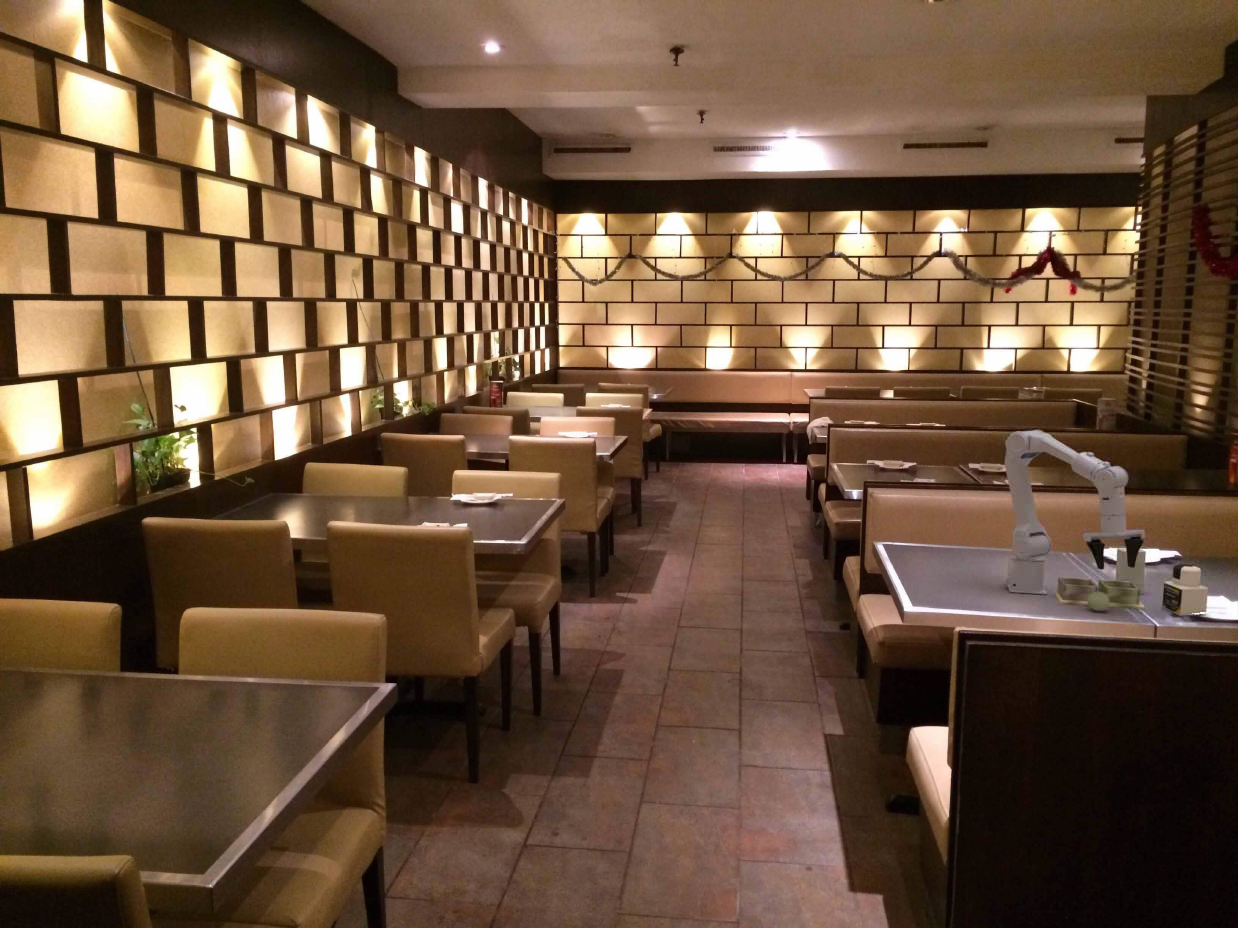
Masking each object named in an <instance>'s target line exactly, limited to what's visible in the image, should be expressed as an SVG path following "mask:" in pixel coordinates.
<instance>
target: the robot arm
mask: <svg viewBox="0 0 1238 928" xmlns="http://www.w3.org/2000/svg"><path fill="white" fill-rule="evenodd" d="M1004 443H1005V448H1006V449H1005V450H1006V452H1005V457H1004V467H1005V471H1006V476H1007V481H1008V486H1009V493H1010V497H1011V501H1012V506H1013V511H1014V517H1015V521H1016V526H1015V528H1014V530H1013V531H1012V533H1011V535H1012V543H1011V551H1012V552H1013V555H1014V556H1015V557H1008V561H1007V569H1006V570H1007V572H1006V587H1007V589H1008V591H1009V593H1020V594H1037V595H1047V594H1048V592H1047V590H1046V589H1045V587H1044V586H1045V570H1046V559H1047V555H1048V554H1049V553H1050V552H1051V550H1052V548H1053V546H1052V545H1053V543H1052V540H1051V537H1049V535H1048V533H1047V530H1046V528H1045V526H1044V525H1042V524H1041V523H1040V522H1039V517H1038V512H1037V509H1036V504H1035V499H1034V494H1033V490H1032V485H1031V479H1030V475H1029V469H1028V465H1029V464H1030V463H1031V461H1032V460H1033V459H1034V458H1036V457H1037V456H1039V455H1040V454H1041V453H1043V452H1044V453H1046V454H1049V455H1051V456H1053V457H1055V458H1057V459H1059V460H1061V461H1064V462H1066V463H1067V464H1069V465H1070V466H1071V469H1072V471H1073V472H1074V473H1076V474H1078V475H1080V476H1082V477H1083V478H1085V479H1087V480H1088V481H1091V482H1093V485H1094V487H1095V488H1096V489H1097V492H1098V496H1099V497H1098V498H1099V512H1100V514H1099V515H1100V531H1094V532H1085V533H1083V541H1084V542H1085V543H1086V545H1087V547H1088V548H1089V551H1090V552H1091V554H1092V556H1093V558H1094V560H1095V564H1096V567H1097V569H1098V570H1101V571H1102V570H1105V559H1104V558H1105V557H1104V555H1105V554H1104V552H1105V546H1106V545H1105V543H1103V542H1102V541H1112V540H1114V541H1115V540H1123V541H1124V545H1125V548H1126V551H1127V564H1128V567H1132V568H1134V567H1135V562H1136V558H1137V555H1138V552H1139V550H1140V549H1141V548H1142V546H1143V544H1144V539H1145V538H1146V530H1144V529H1127V518H1126V517H1127V515H1126V513H1127V512H1126V511H1127V510H1126V501H1125V500H1126V497H1125V487H1126V486H1127V484H1128V482H1129V473H1128V472H1127V471H1126V469H1124V468H1123V467H1122V466H1120V465H1113V466H1111V465H1110V464H1111V463H1110V462H1108V461H1103V460H1101V459H1099V458H1097V457H1095V453H1093V452H1092V451H1091V452H1090V451H1089V452H1087V451H1083V452H1079V453H1078V452H1077V451H1075V450H1074V449H1072V448H1071V447H1069V446H1067V445H1065V444H1064V443H1062V442H1060V441H1059V440H1057V439H1056V438H1054V437H1053V436H1052V435H1051V434H1050V433H1046V432H1044V431H1043V430H1040V429H1034V430H1025V431H1018V430H1017V431H1014V432H1012V433H1011V434H1010V435H1009V436H1008V437H1007V439H1006V440H1005V441H1004Z"/></svg>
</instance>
